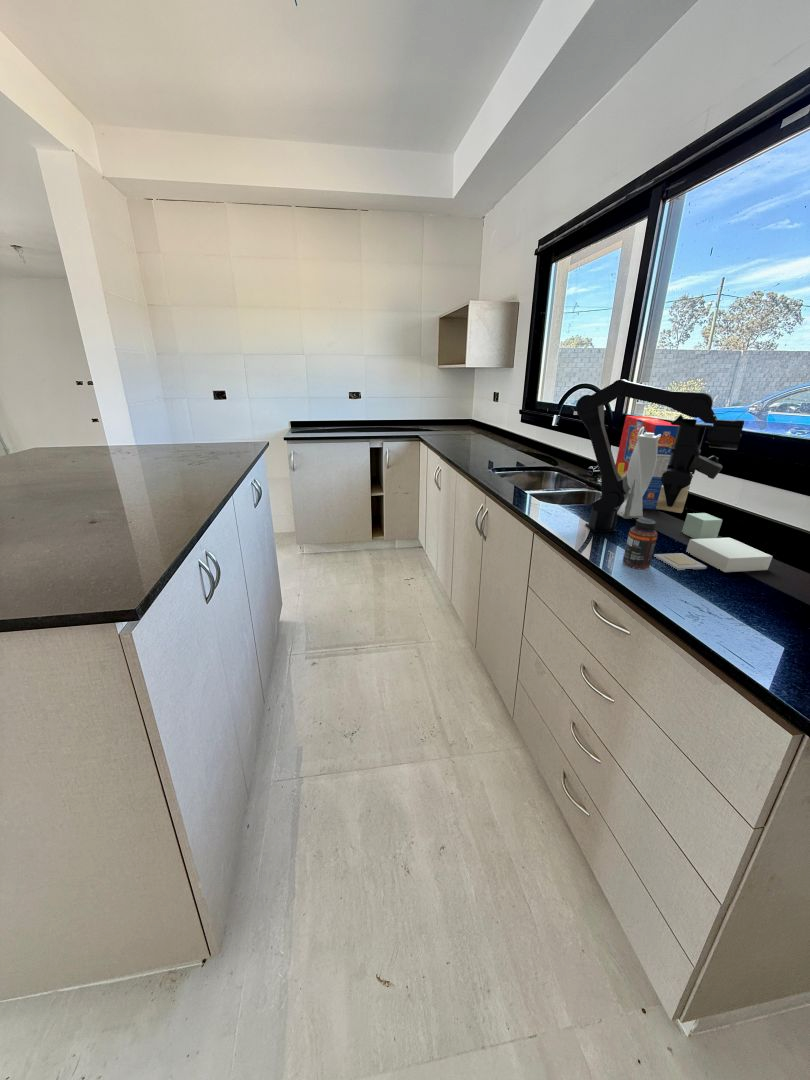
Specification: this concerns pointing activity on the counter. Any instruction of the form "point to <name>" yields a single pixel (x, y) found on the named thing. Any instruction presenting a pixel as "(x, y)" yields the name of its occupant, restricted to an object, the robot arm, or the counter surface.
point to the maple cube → (678, 503)
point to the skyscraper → (640, 474)
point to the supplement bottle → (640, 544)
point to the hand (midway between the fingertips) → (670, 503)
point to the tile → (680, 561)
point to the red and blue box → (663, 452)
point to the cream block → (729, 554)
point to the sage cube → (701, 525)
